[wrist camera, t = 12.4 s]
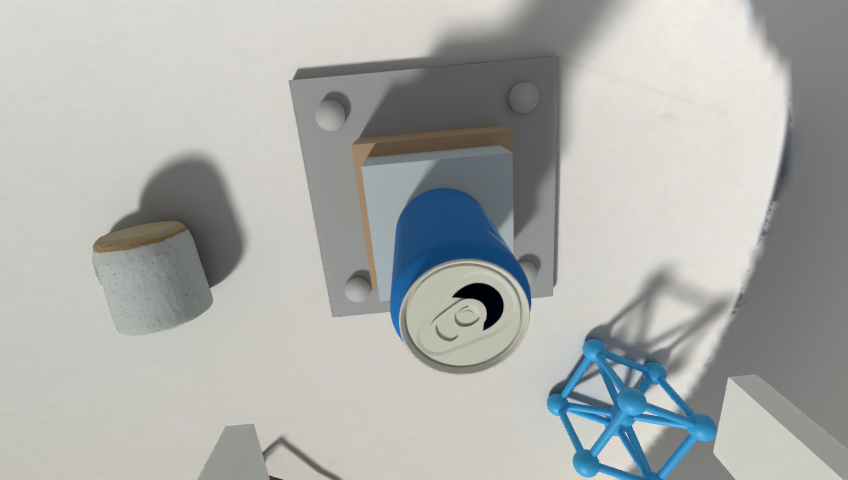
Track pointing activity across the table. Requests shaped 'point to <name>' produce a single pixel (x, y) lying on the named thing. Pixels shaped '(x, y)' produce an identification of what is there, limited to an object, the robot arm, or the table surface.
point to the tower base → (421, 114)
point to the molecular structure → (627, 415)
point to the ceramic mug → (151, 277)
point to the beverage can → (456, 285)
